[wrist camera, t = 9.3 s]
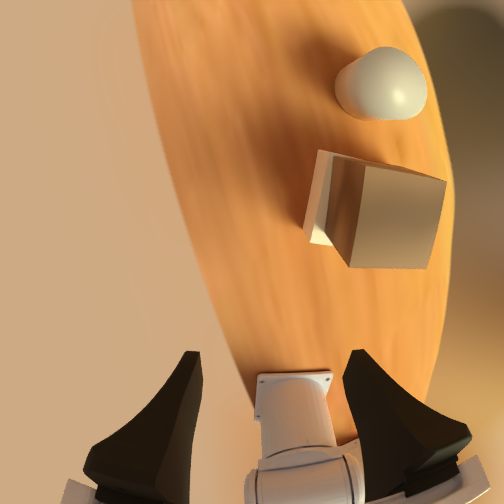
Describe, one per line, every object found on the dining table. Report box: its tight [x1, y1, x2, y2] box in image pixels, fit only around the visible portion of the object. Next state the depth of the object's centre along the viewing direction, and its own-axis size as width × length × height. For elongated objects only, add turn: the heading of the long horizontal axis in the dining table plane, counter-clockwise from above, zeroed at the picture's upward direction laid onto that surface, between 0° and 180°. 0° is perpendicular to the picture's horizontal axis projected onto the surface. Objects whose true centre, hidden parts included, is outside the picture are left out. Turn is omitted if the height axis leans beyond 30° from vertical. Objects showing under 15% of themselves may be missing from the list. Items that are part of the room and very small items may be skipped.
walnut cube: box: [324, 156, 447, 269], centre depth 15 cm, size 5×5×5 cm
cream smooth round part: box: [334, 47, 427, 121], centre depth 14 cm, size 4×4×5 cm
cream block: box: [303, 149, 362, 246], centre depth 18 cm, size 6×6×3 cm
